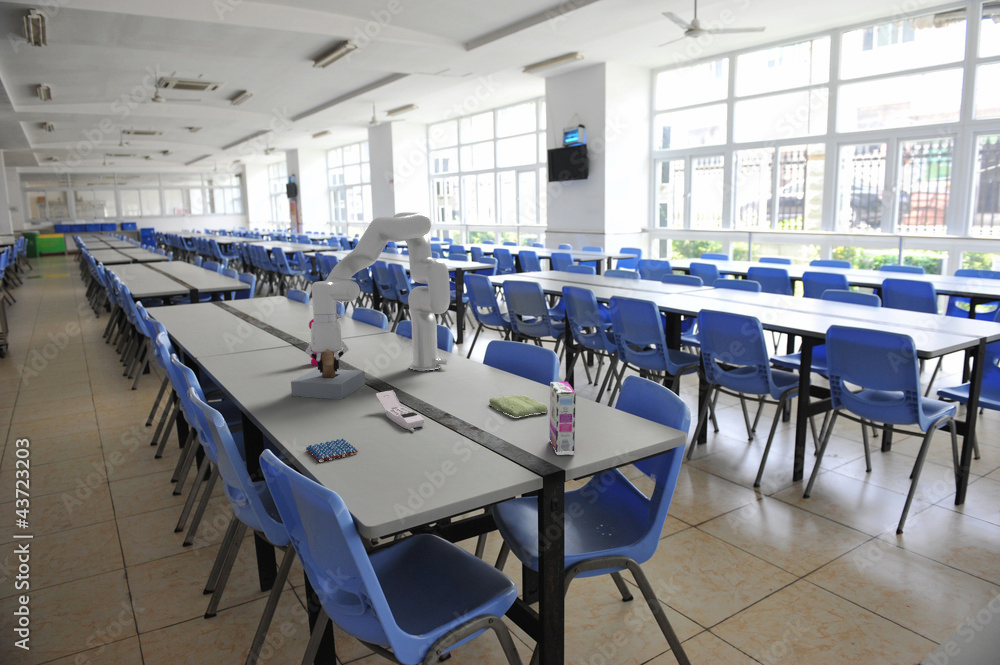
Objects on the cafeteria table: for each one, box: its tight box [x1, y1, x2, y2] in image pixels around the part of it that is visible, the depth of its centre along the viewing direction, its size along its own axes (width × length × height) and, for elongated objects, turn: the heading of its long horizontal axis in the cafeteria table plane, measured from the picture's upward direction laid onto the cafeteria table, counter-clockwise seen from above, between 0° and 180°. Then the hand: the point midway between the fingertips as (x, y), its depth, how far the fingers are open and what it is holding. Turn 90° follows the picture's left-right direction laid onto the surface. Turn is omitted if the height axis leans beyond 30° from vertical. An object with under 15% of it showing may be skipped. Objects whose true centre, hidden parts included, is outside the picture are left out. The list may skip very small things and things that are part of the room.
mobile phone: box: [375, 389, 425, 433], centre depth 193 cm, size 6×6×25 cm
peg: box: [321, 349, 336, 379], centre depth 223 cm, size 4×4×14 cm
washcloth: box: [488, 394, 549, 417], centre depth 202 cm, size 13×18×3 cm
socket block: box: [290, 367, 366, 400], centre depth 224 cm, size 18×18×5 cm
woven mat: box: [305, 438, 359, 462], centre depth 168 cm, size 10×11×2 cm
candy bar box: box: [549, 381, 577, 452], centre depth 168 cm, size 11×5×16 cm, turn 5°
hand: (328, 370), depth 223 cm, fingers closed on peg, 4 cm apart
